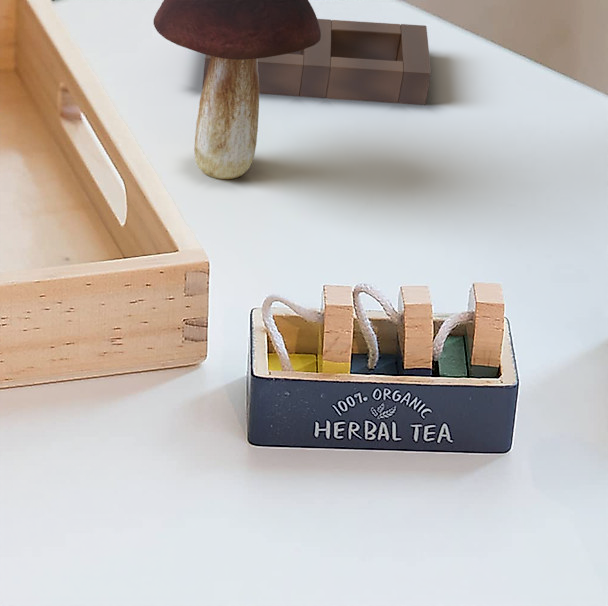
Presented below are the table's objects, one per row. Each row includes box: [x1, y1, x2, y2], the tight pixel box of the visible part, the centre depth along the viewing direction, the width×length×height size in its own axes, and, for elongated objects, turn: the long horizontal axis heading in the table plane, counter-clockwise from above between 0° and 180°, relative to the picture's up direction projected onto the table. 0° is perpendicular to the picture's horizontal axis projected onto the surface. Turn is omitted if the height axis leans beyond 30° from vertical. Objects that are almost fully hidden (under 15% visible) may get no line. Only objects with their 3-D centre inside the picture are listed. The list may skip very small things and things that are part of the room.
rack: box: [201, 18, 432, 106], centre depth 119 cm, size 17×9×3 cm, turn 80°
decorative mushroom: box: [153, 0, 321, 180], centre depth 102 cm, size 11×11×15 cm
